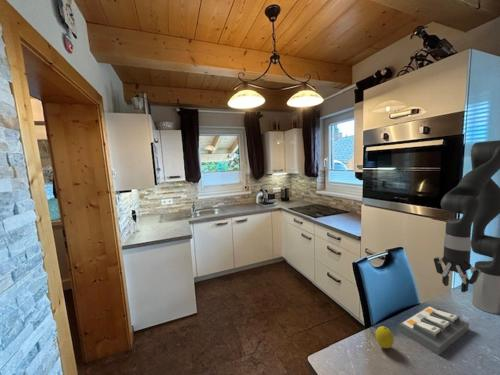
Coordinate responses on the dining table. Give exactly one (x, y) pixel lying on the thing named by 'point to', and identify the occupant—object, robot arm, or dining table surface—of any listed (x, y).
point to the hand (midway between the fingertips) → (454, 288)
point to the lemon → (384, 337)
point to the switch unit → (428, 338)
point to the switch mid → (438, 321)
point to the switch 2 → (447, 315)
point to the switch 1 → (429, 327)
